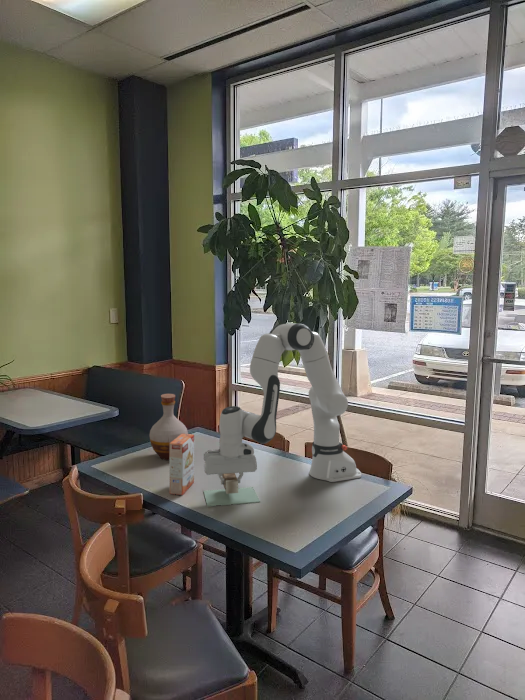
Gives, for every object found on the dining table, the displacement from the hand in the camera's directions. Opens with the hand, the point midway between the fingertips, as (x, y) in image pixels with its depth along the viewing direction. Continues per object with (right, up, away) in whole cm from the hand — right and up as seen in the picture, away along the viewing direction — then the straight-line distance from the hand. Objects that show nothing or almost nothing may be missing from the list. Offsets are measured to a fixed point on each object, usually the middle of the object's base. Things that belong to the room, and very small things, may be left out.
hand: (230, 483), depth 203 cm
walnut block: (-1, +1, +7) cm, 7 cm away
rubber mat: (0, -5, +1) cm, 5 cm away
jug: (-32, +1, +46) cm, 57 cm away
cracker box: (-20, -4, +9) cm, 22 cm away
